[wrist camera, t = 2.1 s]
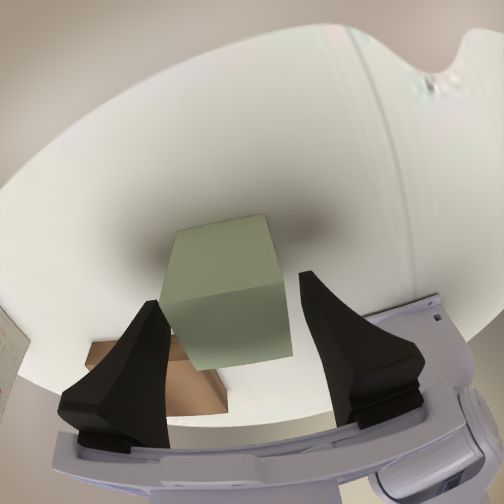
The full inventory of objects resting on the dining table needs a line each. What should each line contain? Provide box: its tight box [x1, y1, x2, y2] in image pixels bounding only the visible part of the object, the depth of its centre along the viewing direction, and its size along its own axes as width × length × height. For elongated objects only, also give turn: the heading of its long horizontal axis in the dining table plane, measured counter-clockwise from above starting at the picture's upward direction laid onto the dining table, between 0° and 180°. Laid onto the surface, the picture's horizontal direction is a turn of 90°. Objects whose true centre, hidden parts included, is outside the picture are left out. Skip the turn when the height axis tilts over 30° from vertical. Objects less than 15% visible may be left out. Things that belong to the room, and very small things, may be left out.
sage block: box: [158, 214, 293, 371], centre depth 14 cm, size 5×5×6 cm
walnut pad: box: [85, 335, 228, 417], centre depth 22 cm, size 10×10×3 cm
